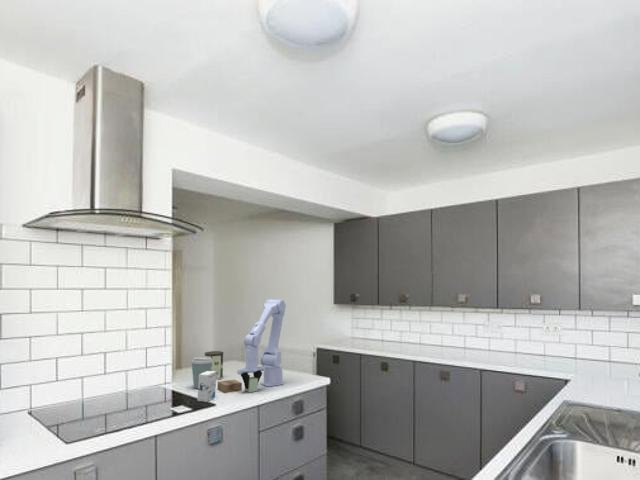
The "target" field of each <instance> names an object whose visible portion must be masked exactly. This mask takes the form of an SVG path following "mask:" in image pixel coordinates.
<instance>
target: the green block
mask: <svg viewBox="0 0 640 480" xmlns="http://www.w3.org/2000/svg"><path fill="white" fill-rule="evenodd" d="M258 387H259V383H258V378H255V377H254V376H250V377H249V387H248V389H246V388H245V387H244V392H248V393H254V392H258V390H259V389H258Z"/></svg>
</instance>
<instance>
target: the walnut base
mask: <svg viewBox="0 0 640 480" xmlns="http://www.w3.org/2000/svg"><path fill="white" fill-rule="evenodd" d="M216 389H217V390H218V391H219V392H222V393H223V394H227V393H235V392H241V391H243V383H242V382H241V381H239V380H236V379H229V380H221V381H217V388H216Z"/></svg>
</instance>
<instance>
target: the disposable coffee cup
mask: <svg viewBox="0 0 640 480" xmlns="http://www.w3.org/2000/svg"><path fill="white" fill-rule="evenodd" d="M212 362H213V360H212V358H208V357H205V356H202V357H201V356H199V357H193V358H192V359H191V362H190V363H191V371H192V381H193V382H192V383H193V388H194V389H196V390H198V383H199V374H201V373H204V372H206V371H211V366H212Z"/></svg>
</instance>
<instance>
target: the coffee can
mask: <svg viewBox="0 0 640 480" xmlns="http://www.w3.org/2000/svg"><path fill="white" fill-rule="evenodd" d="M204 357H208V358H212V360H213V362H212V366H211V371H216V381H219V380H223V379H224V374H223V373H224V372H223V371H224V351H220V350H218V351H217V350H214V351H213V350H212V351H206V352H204Z"/></svg>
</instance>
